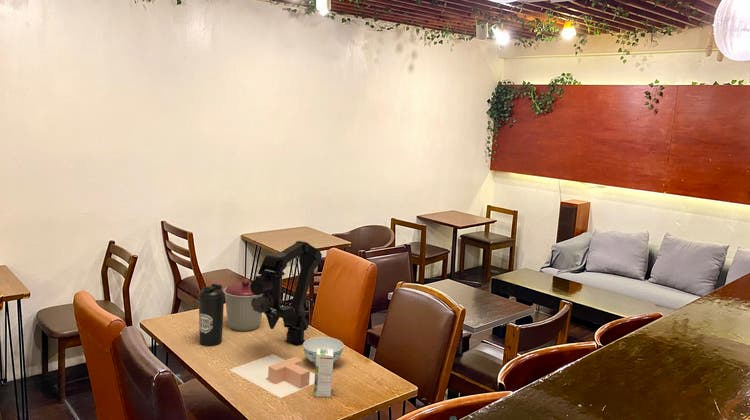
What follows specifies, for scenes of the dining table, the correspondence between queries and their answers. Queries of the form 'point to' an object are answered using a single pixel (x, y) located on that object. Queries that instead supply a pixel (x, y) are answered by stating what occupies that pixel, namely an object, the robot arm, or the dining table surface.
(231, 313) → the canister
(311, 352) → the chinaware
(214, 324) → the water bottle
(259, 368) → the mat
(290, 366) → the t block
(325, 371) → the syrup box
